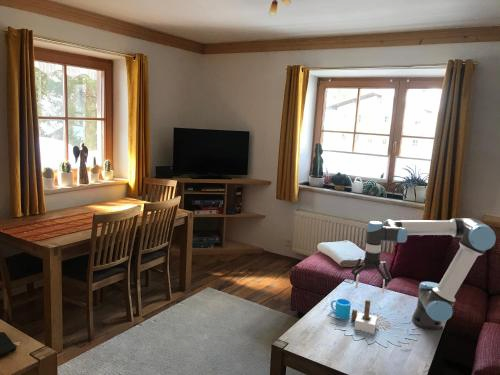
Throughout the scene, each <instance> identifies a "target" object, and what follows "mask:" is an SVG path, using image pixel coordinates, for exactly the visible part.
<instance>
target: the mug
mask: <svg viewBox="0 0 500 375" xmlns="http://www.w3.org/2000/svg"><path fill="white" fill-rule="evenodd" d="M333 303H335V307H334V305H333ZM351 305H352V303H351V301H350V300H348V299H346V298H338V299H336V300H332V301H331V302H330V307H331V309H332V310H333V312H334V315H336V316H337V317H336V316H335V317H336V318H338V317H339V318H338V319H341V318H343V319H342V320H347V318H348V319H350V317H351Z"/></svg>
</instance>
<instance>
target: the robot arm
mask: <svg viewBox="0 0 500 375" xmlns="http://www.w3.org/2000/svg"><path fill="white" fill-rule="evenodd" d="M366 228H367V229H366V239H365V251H364V258H362V257H361V256H360V257H358V259H357V263H356V264H355V265H354V267H353V269H352V270H351V272H350V274H351V275H354V276H353V277H354V278H353V281H354V282H355V289H357V288H358V286H359V274H360V273H361V272H362V271H364V269H366V268H367V269H372V270H376V271H377V272H378V273H379V275H380V276H381V277H382V279H383V281H382V292H381V293H382V294H385V289H386V288H385V287H387V286H388V282H389V281H392V276H391V273H390V271H389V268H388V266H387V261H385V260H384V261H381V251H382V249H381V248H382V242H393V243H406V242H407V240H408V236H412V235H413V236H414V235H415V236H416V235H417V236H418V235H419V236H424V235H426V236H430V235H431V236H432V235H433V236H444V235H445V236H449V235H450V236H452V237H454V238H456V237H457V238H460V240H459V241H458V244H459V246H460V247H459V249H458V250H457V252H456V254H455V255H454V257H453V259H452V261H451V262H450V264H449V266H448V268H447V270H446V271H445V273H444V275H443V277H442V278H441V280H440V282H439V283H437V282H433V281H422V282H420V283H419V286H418V293H417V294H418V295H417V302H416V303H417V304H416V308H415V310H414V312H413V314H412V316H411V317H412V318H411V321H412V322H413V324H415V325H416V326H418V327H420V328H423V329H426V330H439V329H441V328H442V327H443V326H442V325H443V322H445V321H447V320H449V319H450V318H451V317H452V316H453V306H454V305H455V302H456V298H455V296H456V294H457V292H458V290H459V289H460V287H461V285H462V283H463V282H464V280H465V279H466V277H467V275H468V273H469V272H470V270H471V268H472V266H473V265H474V263H475V262H476V259H477V258H478V257H479V256H482V255H484V254H485V252H486V251H487V250H490V249H491V248H492V247H494V245H495V243H496V241H497V240H496V237H497V236H496V234H495V231H494V230H493V229H492V228H491V227H490V226H489V225H487V224H485V223H484V222H482V221H481V220H479V219H476V218H470V217H469V218H468V217H462V218H461V217H460V218H459V217H458V218H451V219H449V220H447V219H445V220H394V219H391V218H388V219H386V220H384V221H383V222H381V221H377V220H371V221H369V222H368V223H367V227H366ZM361 263H364V264H363V265H362V266H360V268H359V269H358V267H359V265H360V264H361ZM380 265H381V266H382V267H383V269H381V267H380ZM383 270H384V271H383Z"/></svg>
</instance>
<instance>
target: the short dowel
mask: <svg viewBox="0 0 500 375" xmlns="http://www.w3.org/2000/svg"><path fill="white" fill-rule="evenodd" d="M357 315H358V310H357V309H352V310H351V318H350V319H351V322H353V323H355V320H356V317H357Z"/></svg>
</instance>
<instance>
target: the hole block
mask: <svg viewBox="0 0 500 375" xmlns="http://www.w3.org/2000/svg"><path fill="white" fill-rule="evenodd" d="M377 321H378V316H377V315H373V314H369V320H364V312H358V311H357V317H356V320H355V322H354V330H356V329H357V330H358V331H360V330H361V332H364V331H365V332H364V333H368V332H370V333H369V334H375V331H376V328H377Z"/></svg>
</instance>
